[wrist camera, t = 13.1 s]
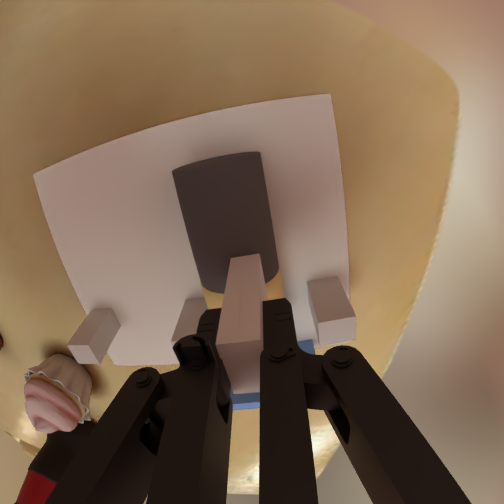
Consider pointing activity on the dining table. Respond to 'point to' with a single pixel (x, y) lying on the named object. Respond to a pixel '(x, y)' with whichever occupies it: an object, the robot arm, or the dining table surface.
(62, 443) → the cola bottle
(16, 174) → the dining table surface
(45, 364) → the cupcake
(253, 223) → the banded cylinder post
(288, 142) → the white base plate
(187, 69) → the dining table surface
